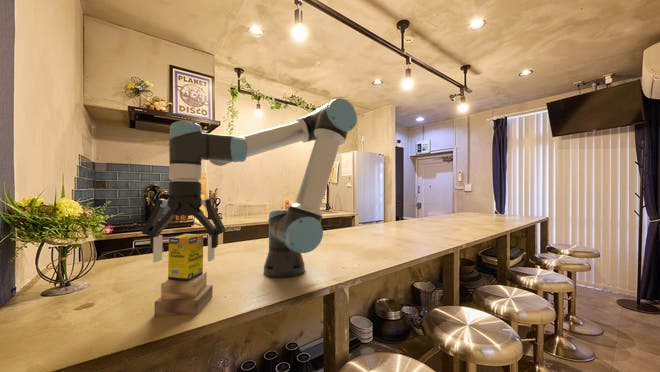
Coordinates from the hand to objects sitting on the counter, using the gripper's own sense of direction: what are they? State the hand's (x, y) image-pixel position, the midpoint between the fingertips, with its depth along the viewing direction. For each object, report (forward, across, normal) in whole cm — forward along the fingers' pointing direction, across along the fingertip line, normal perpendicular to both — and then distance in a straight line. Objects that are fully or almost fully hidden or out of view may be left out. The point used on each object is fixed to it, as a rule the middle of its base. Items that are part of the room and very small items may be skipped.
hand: (184, 260), depth 67 cm
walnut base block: (+12, -1, +1) cm, 12 cm away
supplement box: (+4, 0, 0) cm, 5 cm away
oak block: (+8, 0, 0) cm, 8 cm away
